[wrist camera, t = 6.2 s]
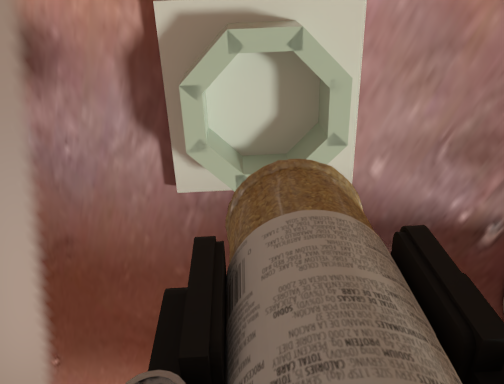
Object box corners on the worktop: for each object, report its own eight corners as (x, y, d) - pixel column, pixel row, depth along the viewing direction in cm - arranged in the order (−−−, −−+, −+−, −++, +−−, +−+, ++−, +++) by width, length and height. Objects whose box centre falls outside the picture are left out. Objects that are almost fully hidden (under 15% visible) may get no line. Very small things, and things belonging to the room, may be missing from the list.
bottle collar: (348, 177, 31) (363, 205, 27) (179, 186, 30) (172, 214, 27) (362, -9, 25) (384, -5, 22) (155, -1, 25) (143, 5, 21)
